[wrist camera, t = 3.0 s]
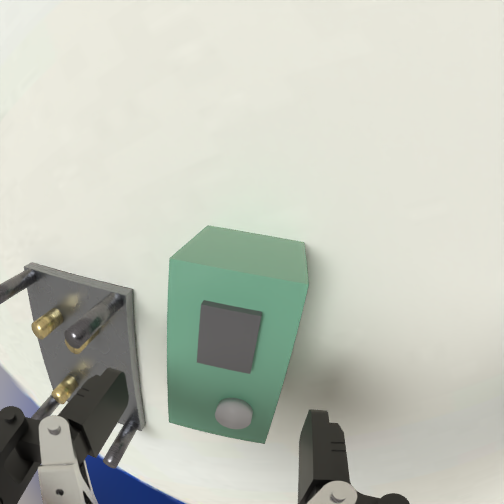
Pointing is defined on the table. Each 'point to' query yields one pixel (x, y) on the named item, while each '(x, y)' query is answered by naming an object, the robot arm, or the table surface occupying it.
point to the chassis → (82, 339)
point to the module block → (232, 329)
